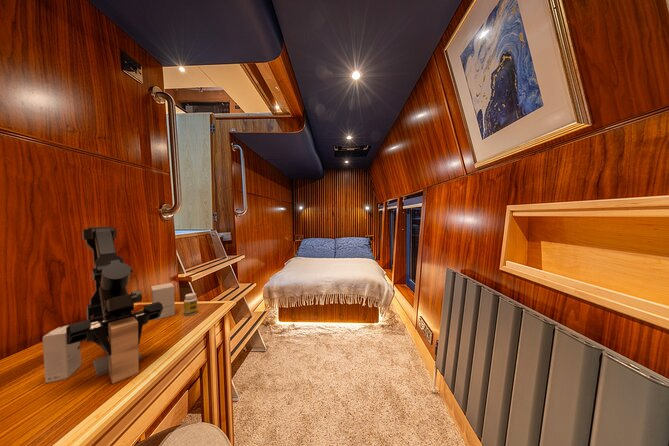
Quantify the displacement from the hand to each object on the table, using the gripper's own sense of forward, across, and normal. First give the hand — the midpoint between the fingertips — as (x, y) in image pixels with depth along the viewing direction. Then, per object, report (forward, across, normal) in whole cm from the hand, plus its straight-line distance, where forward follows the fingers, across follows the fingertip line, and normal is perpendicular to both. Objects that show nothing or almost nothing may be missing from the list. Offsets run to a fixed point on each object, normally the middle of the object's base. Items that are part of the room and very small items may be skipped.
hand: (124, 349), depth 57 cm
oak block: (+4, 0, +6) cm, 7 cm away
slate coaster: (-2, 0, +12) cm, 13 cm away
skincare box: (-5, -10, +16) cm, 19 cm away
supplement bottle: (-15, +26, +26) cm, 39 cm away
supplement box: (-21, +18, +31) cm, 42 cm away
